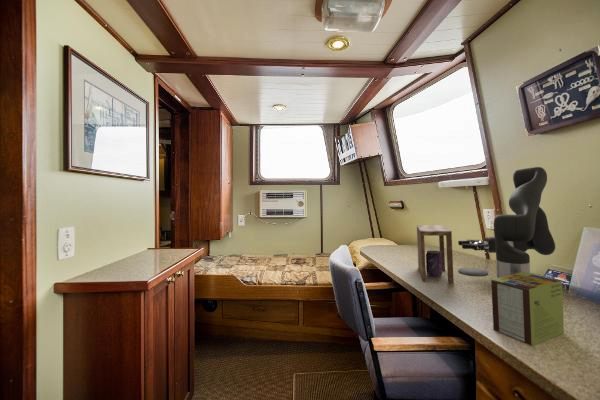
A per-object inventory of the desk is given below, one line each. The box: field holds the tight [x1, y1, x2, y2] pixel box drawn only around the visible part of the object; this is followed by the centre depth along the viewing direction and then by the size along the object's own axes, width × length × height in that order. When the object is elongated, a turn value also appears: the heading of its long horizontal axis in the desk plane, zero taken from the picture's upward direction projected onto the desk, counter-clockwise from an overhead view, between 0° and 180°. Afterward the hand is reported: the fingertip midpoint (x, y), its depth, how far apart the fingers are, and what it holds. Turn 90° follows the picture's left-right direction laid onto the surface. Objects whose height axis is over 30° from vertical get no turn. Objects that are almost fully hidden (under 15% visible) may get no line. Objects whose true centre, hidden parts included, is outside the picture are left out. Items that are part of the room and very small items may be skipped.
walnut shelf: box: [416, 224, 455, 285], centre depth 140 cm, size 13×25×24 cm, turn 161°
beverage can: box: [425, 250, 443, 278], centre depth 140 cm, size 7×7×12 cm
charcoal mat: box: [457, 267, 489, 277], centre depth 141 cm, size 13×13×1 cm
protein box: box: [490, 272, 565, 347], centre depth 81 cm, size 10×15×16 cm
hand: (460, 244), depth 136 cm, fingers open, 8 cm apart
